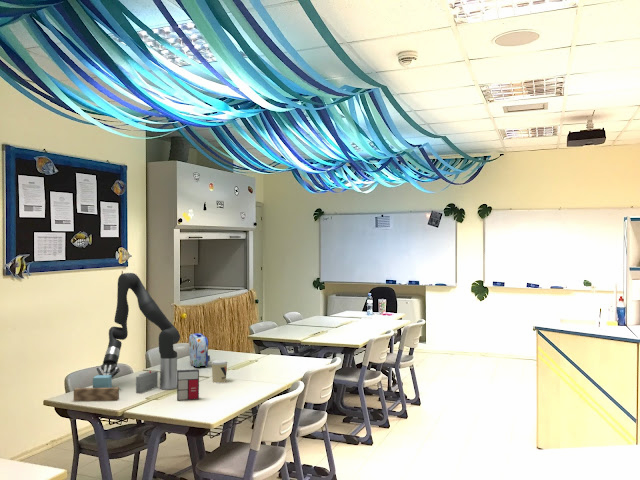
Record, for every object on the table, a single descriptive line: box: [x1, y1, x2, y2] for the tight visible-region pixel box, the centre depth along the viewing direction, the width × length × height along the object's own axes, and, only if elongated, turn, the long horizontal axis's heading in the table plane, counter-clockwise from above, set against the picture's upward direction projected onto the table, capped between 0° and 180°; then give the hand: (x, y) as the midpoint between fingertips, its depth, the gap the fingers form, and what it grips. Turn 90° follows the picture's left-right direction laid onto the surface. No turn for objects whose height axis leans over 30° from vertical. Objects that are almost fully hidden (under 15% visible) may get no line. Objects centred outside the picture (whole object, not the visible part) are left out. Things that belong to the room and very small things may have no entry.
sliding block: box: [92, 374, 113, 388], centre depth 292 cm, size 8×6×9 cm
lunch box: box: [188, 332, 211, 368], centre depth 372 cm, size 28×10×22 cm, turn 25°
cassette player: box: [135, 370, 159, 394], centre depth 305 cm, size 16×3×10 cm, turn 162°
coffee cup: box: [211, 359, 228, 383], centre depth 325 cm, size 9×9×12 cm
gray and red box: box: [176, 368, 200, 401], centre depth 286 cm, size 11×4×15 cm, turn 105°
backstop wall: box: [73, 387, 120, 402], centre depth 292 cm, size 22×22×6 cm
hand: (104, 383), depth 296 cm, fingers closed
